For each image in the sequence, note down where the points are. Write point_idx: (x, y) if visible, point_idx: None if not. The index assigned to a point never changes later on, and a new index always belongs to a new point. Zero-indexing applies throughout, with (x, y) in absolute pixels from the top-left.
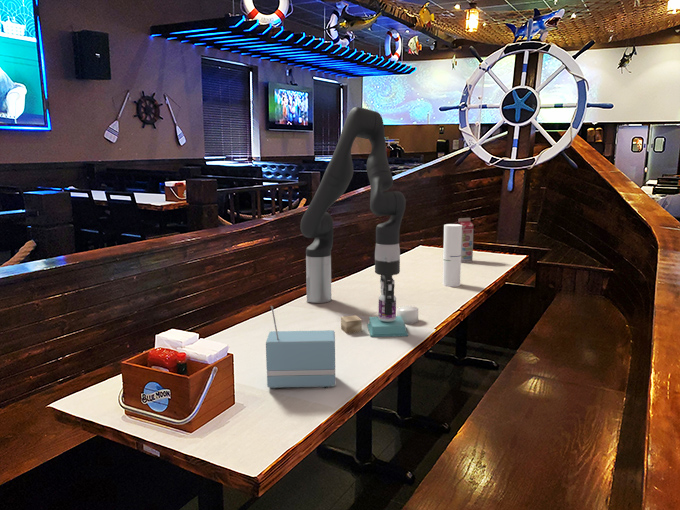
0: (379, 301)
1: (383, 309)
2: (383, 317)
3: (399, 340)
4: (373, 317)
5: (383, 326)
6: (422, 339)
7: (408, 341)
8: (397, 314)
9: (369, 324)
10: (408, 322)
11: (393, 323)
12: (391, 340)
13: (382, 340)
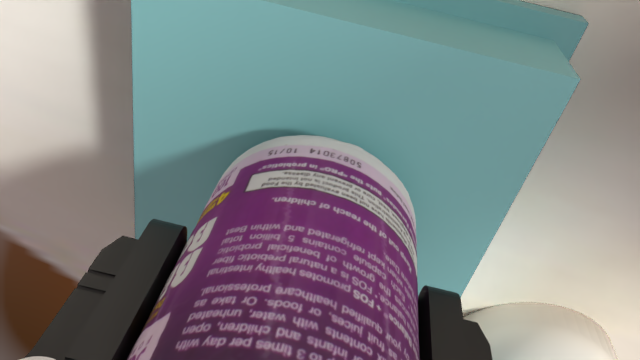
0: (231, 337)
1: (186, 260)
2: (221, 182)
3: (55, 141)
4: (517, 117)
5: (133, 102)
6: (81, 276)
7: (35, 189)
8: (555, 354)
9: (536, 35)
10: None
11: None
12: (53, 82)
13: (49, 2)
